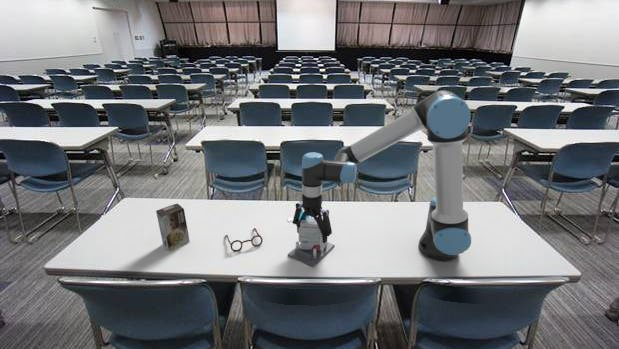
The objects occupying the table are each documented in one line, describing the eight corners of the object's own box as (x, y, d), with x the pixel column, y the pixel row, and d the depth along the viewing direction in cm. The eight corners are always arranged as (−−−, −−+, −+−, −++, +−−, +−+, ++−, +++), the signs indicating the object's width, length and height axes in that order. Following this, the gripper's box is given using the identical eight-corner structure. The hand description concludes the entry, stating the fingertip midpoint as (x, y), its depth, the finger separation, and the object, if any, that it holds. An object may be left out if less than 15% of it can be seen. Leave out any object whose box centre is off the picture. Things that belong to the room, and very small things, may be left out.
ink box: (322, 243, 132) (323, 218, 127) (322, 250, 128) (322, 224, 123) (301, 242, 133) (301, 217, 128) (300, 249, 128) (300, 223, 124)
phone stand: (287, 210, 163) (287, 207, 163) (311, 209, 164) (311, 207, 164) (288, 232, 145) (288, 229, 144) (315, 231, 146) (315, 228, 145)
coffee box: (183, 235, 141) (177, 202, 135) (190, 242, 137) (184, 208, 131) (162, 244, 135) (155, 210, 129) (168, 251, 131) (161, 216, 125)
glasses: (231, 253, 130) (230, 243, 128) (224, 237, 141) (223, 227, 139) (263, 245, 135) (262, 235, 133) (254, 230, 146) (253, 220, 144)
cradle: (334, 246, 134) (334, 236, 132) (313, 267, 122) (313, 256, 120) (310, 237, 140) (310, 227, 138) (287, 256, 128) (287, 245, 126)
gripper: (343, 197, 118) (340, 248, 127) (294, 183, 130) (294, 231, 138) (332, 205, 113) (330, 258, 121) (282, 190, 124) (284, 239, 133)
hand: (311, 244), depth 130 cm, fingers closed on ink box, 9 cm apart
